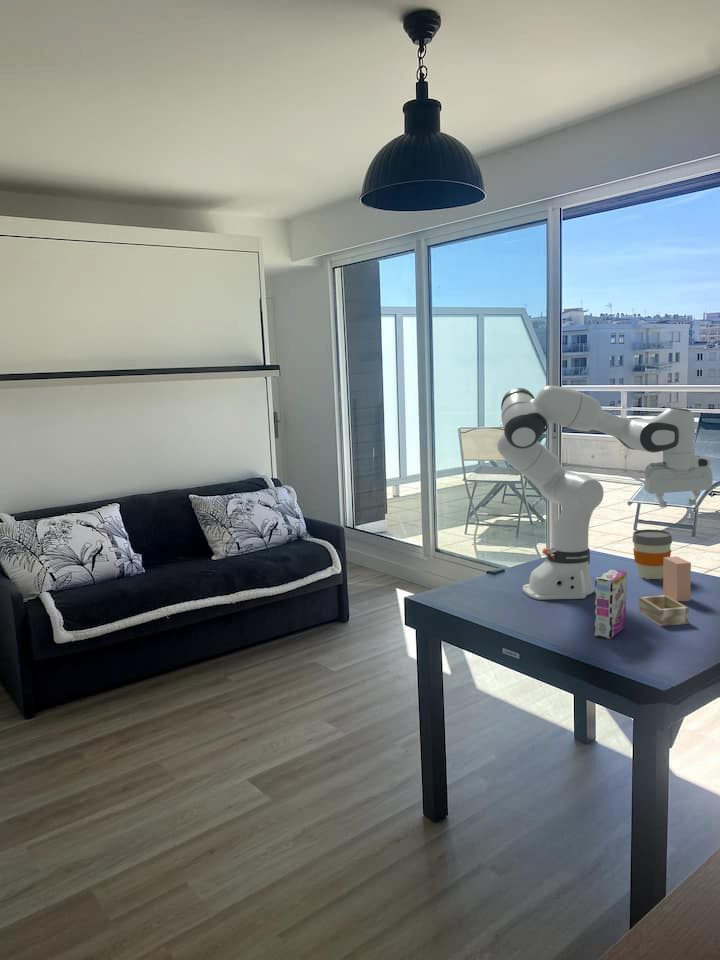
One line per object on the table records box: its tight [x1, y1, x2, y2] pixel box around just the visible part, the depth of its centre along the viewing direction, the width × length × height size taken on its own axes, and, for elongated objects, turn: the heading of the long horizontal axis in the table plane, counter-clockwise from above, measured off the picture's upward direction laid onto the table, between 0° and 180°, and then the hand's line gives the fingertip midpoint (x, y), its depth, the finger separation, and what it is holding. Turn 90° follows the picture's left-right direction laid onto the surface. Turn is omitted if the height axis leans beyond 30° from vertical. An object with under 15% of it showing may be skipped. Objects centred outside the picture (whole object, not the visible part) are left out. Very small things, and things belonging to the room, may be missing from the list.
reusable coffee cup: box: [632, 528, 673, 580], centre depth 249 cm, size 13×13×15 cm
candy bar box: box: [594, 569, 627, 640], centre depth 200 cm, size 11×5×16 cm, turn 141°
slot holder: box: [638, 594, 690, 627], centre depth 209 cm, size 8×12×5 cm
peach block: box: [662, 555, 692, 602], centre depth 226 cm, size 4×8×12 cm, turn 6°
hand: (677, 506), depth 222 cm, fingers open, 8 cm apart
